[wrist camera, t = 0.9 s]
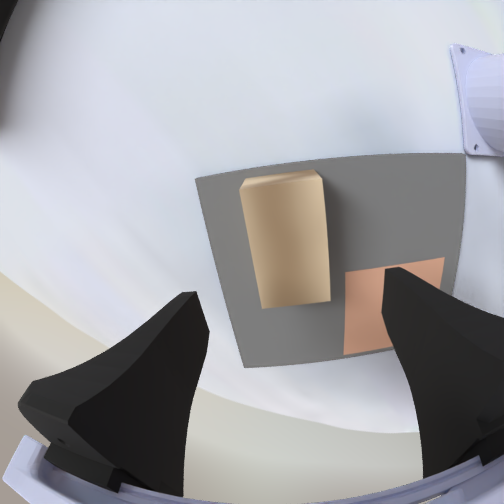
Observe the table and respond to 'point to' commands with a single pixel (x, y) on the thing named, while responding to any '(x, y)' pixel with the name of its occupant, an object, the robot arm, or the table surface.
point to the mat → (341, 251)
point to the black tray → (5, 13)
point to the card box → (288, 237)
